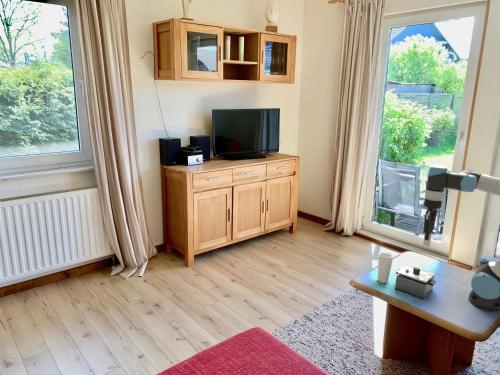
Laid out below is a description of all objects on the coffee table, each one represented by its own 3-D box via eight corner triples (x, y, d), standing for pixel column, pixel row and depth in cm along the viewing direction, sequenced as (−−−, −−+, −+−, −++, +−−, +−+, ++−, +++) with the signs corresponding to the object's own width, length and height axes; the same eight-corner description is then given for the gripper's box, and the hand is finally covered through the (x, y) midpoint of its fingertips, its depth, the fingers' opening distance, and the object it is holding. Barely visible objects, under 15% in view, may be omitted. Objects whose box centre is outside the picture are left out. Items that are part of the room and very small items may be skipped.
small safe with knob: (436, 290, 186) (439, 276, 184) (427, 301, 176) (430, 286, 174) (401, 278, 198) (403, 265, 196) (390, 287, 188) (392, 273, 186)
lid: (434, 274, 186) (435, 269, 185) (426, 283, 175) (427, 277, 175) (406, 265, 195) (407, 261, 194) (397, 273, 184) (397, 267, 184)
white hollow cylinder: (390, 285, 191) (394, 258, 187) (376, 283, 192) (380, 257, 188) (388, 278, 197) (391, 253, 194) (375, 277, 199) (378, 251, 195)
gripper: (429, 194, 179) (422, 240, 184) (420, 199, 169) (413, 247, 175) (446, 197, 174) (438, 244, 180) (437, 203, 164) (430, 251, 170)
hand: (426, 245), depth 177 cm, fingers closed
